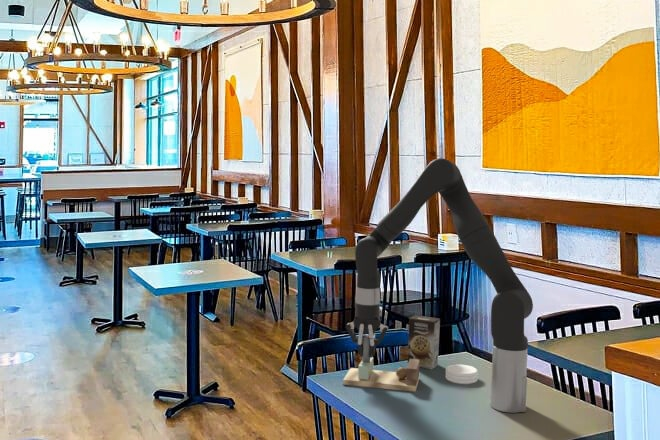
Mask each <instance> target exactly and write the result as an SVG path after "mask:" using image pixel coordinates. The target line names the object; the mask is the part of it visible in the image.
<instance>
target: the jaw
mask: <svg viewBox="0 0 660 440" xmlns="http://www.w3.org/2000/svg"><path fill="white" fill-rule="evenodd" d="M373 370H374V357H372V358H370V338H369V335H368V334H364V336H363V354H362V357H361V361H360V362H359V364H358V379H365V380H368V379H369V377H370V375H371V373H372V371H373Z"/></svg>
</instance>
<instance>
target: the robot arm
mask: <svg viewBox="0 0 660 440" xmlns="http://www.w3.org/2000/svg"><path fill="white" fill-rule="evenodd" d="M437 193H438V194H440V196H441V197H442V199H443V201H444V203H445V204H446V206H447V208H448V209H449V212H450V215H451V218H452V222H453V226H454V229H455V232H456V234H457V237H458V239H459V241H460V243H461V245H462V247H463V248H464V250H465V253H466V255H468V257H469V259H470V260H471V261H472V262H473V263H474V264H475V265H476V266H477V267H478V268H479V269H480V270H481V271H482V272H483V273H484V274H485V275H486V276H487V278H488V279H489V280H490V282H491V284H492V285H493V288H494V290H495V292H496V295H495V296H494V297H493V299H492V302H491V306H490V307H491V309H490V334H491V337H492V360H491V362H492V363H491V380H490V381H491V385H490V386H491V387H490V407H491V408H492V409H495V410H497V411H498V412H504V413H511V414H512V413H526V411H527V409H526V408H527V389H528V388H527V386H528V377H527V369H528V368H527V367H528V349H529V348H528V347H529V346H528V344H529V340H528V337H527V336H526V335H525V320H526V319H527V318H528V317H529V316H530V315H531V313H532V312H533V309H534V303H533V299H532V297H531V294H530V293H529V292H528V290H527V288H526V287H525V286H524V284H523V283H522V281H521V280H520V278H519V277H518V276H517V274H516V273H515V271H514V269H513V267H512V266H511V264H510V263H509V260H508V258H507V256H506V255H505V252H504V251H503V249H502V247H501V245H500V244H499V242H498V239H497V237H496V235H495V234H494V232H493V229H492V228H491V226H490V224H489V223H488V222H487V219H486V217H484V215H483V213H482V212H481V210H480V209H479V207H478V205H477V204H476V202H475V201H474V199H473V198H472V197H471V194H470V192H469V189H468V188H467V186H466V183H465V180H464V178H463V175H462V173H461V170H460V168H459V166H457V165H456V164H455V163H454V162H452V161H450V160H448V159H446V158H443V157H442V158H441V157H440V158H436V159H432V161H430V162H429V163H428V165H427V166H426V167H425V168H424V169H423V171H422V172H421V174H420V176H419V177H418V178H417V180H416V181H415V182H414V184H413V185H412V186H411V187H410V189H409V190H408V191H407V192H406V193H405V195H404V196H403V197H402V198H401V199H400V200H399V201H398V202H397V203H396V204H395V205H394V207H393V208H391V209H390V210H389V211H388V213H386V214H385V216H384V217H382V218H381V220H380V221H379V222H378V223H377V225H376V227H375V228H374V229H373V230H372V231H371V232H370V233H369V234H368V235H366V237H364V238H361V239H359V241H358V242H357V243H356V246H355V252H354V257H355V259H354V260H355V266H356V267H355V268H356V273H357V274H356V291H355V297H354V299H355V300H354V301H355V308H354V309H355V310H354V311H355V312H354V313H355V314H354V320H353V321H352V322H347V324H346V325H345V328H346V331H347V333H348V334H349V337H350V339H351V341H352V342H353V343H356V344H357V354H358V355H359V357H360V358H362V354H363V336H364V335H369V338H370V358H372V357H373V356H375V353H376V346H377V345H380V344H381V342H382V340H383V339H384V337H385V335H386V333H387V331H388V330H389V326H388V325H385V324H382V322H381V319H380V313H381V312H380V311H381V310H380V307H381V305H380V304H381V290H380V284H381V282H380V281H381V280H380V279H381V278H380V277H381V276H380V270H379V269H378V257H380V256H381V255H382V254H383V253H384V252H385V250H387V248H388V247H389V246H390V244H392V242H393V241H394V240H395V239H396V238H397V237H399V235H401V234H402V233H403V232H404V231H405V229H407V227H409V226H410V224H412V221H414V219H415V218H416V216H417V215H418V213H419V212H420V211H421V208H422V207H423V206H424V205H425V204H426V203H427V202H428V201H429V200H430V199H431V198H432V197H433V196H435V195H436V194H437ZM355 328H356V330H357V331H358V336H357V335H356V332H355V330H354V329H355ZM379 328H380V329H379ZM378 329H379V332H380V334H379V336H378V337H377V339H376V331H377V330H378ZM373 358H374V357H373Z"/></svg>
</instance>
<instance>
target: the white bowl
mask: <svg viewBox="0 0 660 440" xmlns="http://www.w3.org/2000/svg"><path fill="white" fill-rule="evenodd" d="M478 374H479V370H478V369H477V368H475V366H472V365H468V364H461V363H460V364H451V365H448V366H446V367H445V379H446V380H447V381H449V382H450V383H453V384H458V385H459V384H460V385H470V384H475V383H476V382H478V380H479V379H478V376H479V375H478Z"/></svg>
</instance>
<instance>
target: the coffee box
mask: <svg viewBox="0 0 660 440" xmlns="http://www.w3.org/2000/svg"><path fill="white" fill-rule="evenodd" d="M408 319H409V320H408V343H407V344H408V345H407V346H408V347H407V364H408V363H409V360H410V359H419V368H422V369H423V368H425V369H429V370H433V369H434V368H436V367H437V366H438V365H439V346H440V345H439V344H440V326H441V319H440V318H439V317H438V318H437V317H431V316H425V315H417V314H416V315H413V316H410V317H409V318H408Z"/></svg>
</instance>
